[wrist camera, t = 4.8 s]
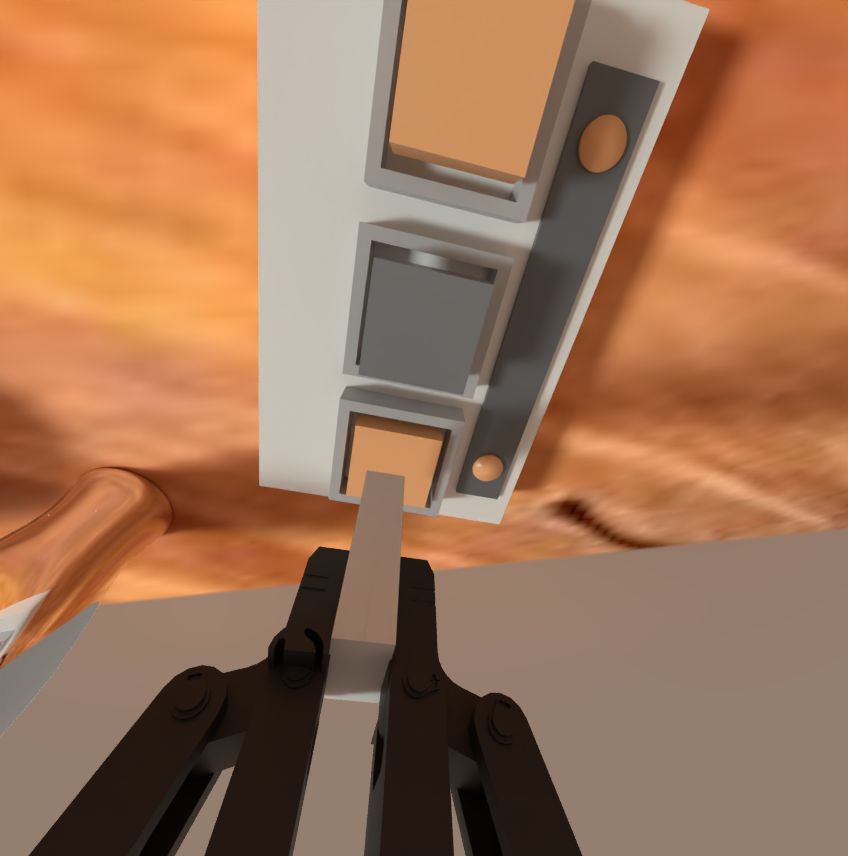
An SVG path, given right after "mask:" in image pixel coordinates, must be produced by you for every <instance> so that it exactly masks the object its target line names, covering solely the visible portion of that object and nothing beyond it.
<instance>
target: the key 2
mask: <svg viewBox="0 0 848 856" xmlns="http://www.w3.org/2000/svg"><path fill="white" fill-rule="evenodd" d="M574 2H575V0H408V2H407V10H406V17H405V25H404V32H403V40H402V47H401V55H400V62H399V70H398V78H397V85H396V93H395V100H394V108H393V115H392V123H391V131H390V138H389V143H390V146H391V149H392V151H393V153H394V154H398V155H402V156H405V157H409V158H413V159H417V160H421V161H425V162H428V163H432V164H436V165H440V166H444V167H448V168H451V169H455V170H459V171H463V172H467V173H471V174H474V175H478V176H482V177H486V178H490V179H494V180H497V181H501V182H505V183H509V184H514V183H516V182H518V181H520V180H521V179H523V178H525V175H526V171H527V168H528V164H529V161H530V157H531V154H532V150H533V147H534V143H535V140H536V136H537V133H538V129H539V126H540V122H541V119H542V115H543V112H544V108H545V104H546V101H547V97H548V94H549V90H550V87H551V83H552V80H553V76H554V73H555V69H556V66H557V62H558V59H559V55H560V52H561V48H562V44H563V41H564V37H565V34H566V30H567V27H568V23H569V20H570V16H571V13H572V9H573V6H574Z"/></svg>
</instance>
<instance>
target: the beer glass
mask: <svg viewBox="0 0 848 856" xmlns="http://www.w3.org/2000/svg"><path fill="white" fill-rule="evenodd" d="M172 517H173V514H172V508H171V505H170V503H169V501H168V499H167V498H166V496H165V495H164V494H163V492H162V491H161V490H160V489H159V488H158V487H156V486H155V485H154V484H153V483H151V482H150V481H148V480H147V479H145V478H143V477H142V476H139V475H137V474H135V473H132V472H129V471H126V470H122V469H116V468H100V469H95V470H92V471H90V472H88V473H86V474H84V475H83V476H82V477H80V478H79V479H78V480H77V481H76V482H75V483H74V484H73V485H72V486H71V487H70V488H69V489H68V491H67V492H66V493H65V494H64V495H63V496H62V497H61V498H60V499H59V500H58V501H57V502H56V503H55V504H54V505H53V506H52V507H51V508H49V509H48V510H47V511H45V512H44V513H43V514H42V515H40V516H39V517H37V518H35V519H34V520H32V521H31V522H29V523H28V524H26V525H24V526H22V527H21V528H19V529H17V530H15V531H13V532H11V533H10V534H8V535H6V536H4V537H2V538H0V737H1V736H2V735H3V733H4V732H5V731H6V730H7V729H8V728H9V727H10V725H11V724H12V723H13V722H14V721H15V720H16V718H17V717H18V716H19V715H20V714H21V713H22V712H23V711H24V709H25V708H26V707H27V706H28V705H29V703H30V702H31V701H32V700H33V698H34V697H35V696H36V695H37V693H38V692H39V691H40V690H41V689H42V687H43V686H44V685H45V683H46V682H47V681H48V680H49V679H50V677H51V676H52V675H53V674H54V672H55V671H56V669H57V668H58V667H59V665H60V664H61V662H62V661H63V659H64V658H65V657H66V655H67V654H68V652H69V651H70V649H71V648H72V647H73V645H74V643H75V642H76V640H77V639H78V637H79V636H80V634H81V633H82V631H83V630H84V628H85V627H86V625H87V623H88V622H89V620H90V619H91V617H92V616H93V614H94V612H95V611H96V609H97V608H98V606H99V604H100V603H101V601H102V599H103V598H104V596H105V595H106V593H107V592H108V590H109V589H110V587H111V586H112V584H113V583H114V581H115V580H116V578H117V577H118V575H119V574H120V573H121V572H122V571H123V569H124V568H125V567H126V566H127V565H128V564H129V562H130V561H131V560H132V559H133V558H134V557H135V556H137V555H138V554H139V553H140V552H141V551H142V550H144V549H145V548H146V547H147V546H149V545H150V544H151V543H152V542H154V541H155V540H156V539H158V538H159V537H160V536H161V535H162V534H163V533H164V532H165V531H166V530H167V529H168V528H169V526H170V524H171V522H172Z"/></svg>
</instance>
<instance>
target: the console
mask: <svg viewBox="0 0 848 856" xmlns="http://www.w3.org/2000/svg"><path fill="white" fill-rule="evenodd" d="M407 2H408V0H257V16H258V292H259V486H265V487H271V488H277V489H284V490H290V491H296V492H302V493H308V494H315V495H321V496H327V497H329V500H335V501H341V502H347V503H353V504H360V501H361V498H360V497H354V496H347V495H346V491H347V483H348V476H349V469H350V462H351V454H352V447H353V440H354V433H355V425H356V423H357V420H358V417H359V414H360V413H364V414H370V415H375V416H380V417H386V418H391V419H397V420H402V421H407V422H413V423H418V424H423V425H429V426H434V427H440V428H442V438H443V442H442V446H441V450H440V453H439V457H438V461H437V464H436V468H435V472H434V475H433V479H432V483H431V486H430V490H429V494H428V497H427V501H426V505H425V508H421V507H415V506H409V505H403V512H409V513H416V514H422V515H428V516H434V517H438V514H439V515H445V516H451V517H457V518H463V519H470V520H476V521H482V522H488V523H495V524H500V522H501V519H502V517H503V514H504V512H505V509H506V507H507V505H508V502H509V500H510V497H511V495H512V492H513V490H514V487H515V485H516V482H517V480H518V478H519V475H520V473H521V470H522V468H523V465H524V463H525V460H526V458H527V456H528V453H529V451H530V448H531V446H532V443H533V441H534V438H535V436H536V434H537V431H538V429H539V426H540V424H541V421H542V419H543V416H544V414H545V412H546V409H547V407H548V404H549V402H550V399H551V397H552V394H553V392H554V389H555V387H556V385H557V382H558V380H559V377H560V375H561V372H562V370H563V367H564V365H565V363H566V360H567V358H568V355H569V353H570V350H571V348H572V345H573V343H574V341H575V338H576V336H577V333H578V331H579V328H580V326H581V323H582V321H583V319H584V316H585V314H586V311H587V309H588V306H589V304H590V301H591V299H592V296H593V294H594V292H595V289H596V287H597V284H598V282H599V279H600V277H601V274H602V272H603V270H604V267H605V265H606V262H607V260H608V257H609V255H610V252H611V250H612V248H613V245H614V243H615V240H616V238H617V235H618V233H619V230H620V228H621V226H622V223H623V221H624V218H625V216H626V213H627V211H628V208H629V206H630V203H631V201H632V199H633V196H634V194H635V191H636V189H637V186H638V184H639V181H640V179H641V177H642V174H643V172H644V169H645V167H646V164H647V162H648V159H649V157H650V155H651V152H652V150H653V147H654V145H655V142H656V140H657V137H658V135H659V133H660V130H661V128H662V125H663V123H664V120H665V118H666V115H667V113H668V111H669V108H670V106H671V103H672V101H673V98H674V96H675V93H676V91H677V88H678V86H679V84H680V81H681V79H682V76H683V74H684V71H685V69H686V66H687V64H688V62H689V59H690V57H691V54H692V52H693V49H694V47H695V44H696V42H697V40H698V37H699V35H700V32H701V30H702V27H703V25H704V22H705V20H706V18H707V15H708V13H709V10H710V9H707V8H704V7H701V6H698V5H695V4H692V3H689V2H686V1H683V0H575V2H574V6H573V9H572V13H571V16H570V20H569V23H568V27H567V30H566V34H565V37H564V41H563V44H562V48H561V52H560V55H559V59H558V62H557V66H556V69H555V73H554V76H553V80H552V83H551V87H550V90H549V94H548V97H547V101H546V104H545V108H544V112H543V115H542V119H541V122H540V126H539V129H538V133H537V136H536V140H535V143H534V147H533V150H532V154H531V157H530V161H529V164H528V168H527V171H526V175H525V178H523V179H521V180H520V181H518V182H516V183H514V184H509V183H505V182H501V181H497V180H494V179H490V178H486V177H482V176H478V175H474V174H471V173H467V172H463V171H459V170H455V169H451V168H448V167H444V166H440V165H436V164H432V163H428V162H425V161H421V160H417V159H413V158H409V157H405V156H402V155H398V154H394V153H393V151H392V149H391V146H390V143H389V138H390V131H391V123H392V115H393V108H394V100H395V93H396V85H397V78H398V70H399V62H400V55H401V47H402V40H403V32H404V25H405V17H406V10H407ZM378 255H380V256H385V257H389V258H393V259H398V260H402V261H406V262H411V263H415V264H419V265H424V266H428V267H432V268H437V269H441V270H445V271H450V272H454V273H458V274H463V275H467V276H471V277H475V278H480V279H484V280H487V281H489V282H490V283H492V284H493V285H494V288H493V291H492V295H491V299H490V302H489V306H488V309H487V313H486V316H485V320H484V323H483V327H482V330H481V334H480V337H479V341H478V344H477V348H476V351H475V355H474V358H473V362H472V366H471V369H470V373H469V376H468V380H467V383H466V387H465V390H464V394H463V395H459V394H454V393H449V392H444V391H439V390H434V389H428V388H423V387H418V386H413V385H408V384H403V383H398V382H393V381H388V380H383V379H378V378H373V377H367V376H362V375H358V373H359V365H360V357H361V350H362V342H363V335H364V327H365V320H366V312H367V305H368V297H369V289H370V282H371V274H372V267H373V259H374V257H376V256H378Z"/></svg>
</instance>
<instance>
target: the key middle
mask: <svg viewBox="0 0 848 856" xmlns="http://www.w3.org/2000/svg"><path fill="white" fill-rule="evenodd" d="M493 288H494V285H493V284H492V283H490V282H489V281H487V280H484V279H480V278H475V277H471V276H467V275H463V274H458V273H454V272H450V271H445V270H441V269H437V268H432V267H428V266H424V265H419V264H415V263H411V262H406V261H402V260H398V259H393V258H389V257H385V256H380V255H378V256H376V257H374V259H373V267H372V274H371V282H370V289H369V297H368V305H367V312H366V320H365V327H364V335H363V342H362V350H361V357H360V365H359V373H358V375H362V376H367V377H373V378H378V379H383V380H388V381H393V382H398V383H403V384H408V385H413V386H418V387H423V388H428V389H434V390H439V391H444V392H449V393H454V394H459V395H463V394H464V390H465V387H466V383H467V380H468V376H469V373H470V369H471V366H472V362H473V358H474V355H475V351H476V348H477V344H478V341H479V337H480V334H481V330H482V327H483V323H484V320H485V316H486V313H487V309H488V306H489V302H490V299H491V295H492V291H493Z"/></svg>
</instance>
